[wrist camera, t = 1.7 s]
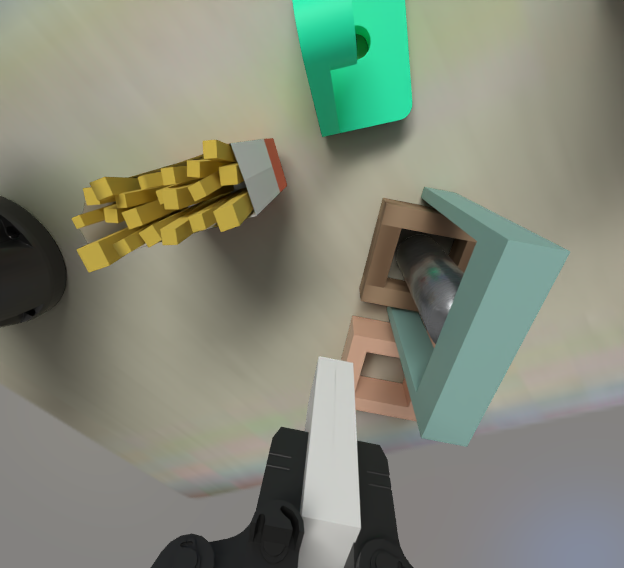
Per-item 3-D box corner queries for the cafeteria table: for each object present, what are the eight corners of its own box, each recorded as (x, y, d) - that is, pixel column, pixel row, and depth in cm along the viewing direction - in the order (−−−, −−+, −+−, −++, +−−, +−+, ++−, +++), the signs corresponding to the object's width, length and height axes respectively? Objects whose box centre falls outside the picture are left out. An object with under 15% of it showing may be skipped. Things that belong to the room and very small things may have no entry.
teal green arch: (386, 309, 37) (421, 438, 21) (424, 186, 32) (508, 239, 16) (413, 314, 37) (466, 446, 21) (455, 192, 32) (570, 251, 16)
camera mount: (407, 118, 30) (438, 111, 20) (323, 136, 31) (316, 137, 22) (393, -56, 25) (425, -169, 16) (295, -27, 26) (271, -116, 17)
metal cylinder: (391, 270, 36) (419, 346, 23) (402, 230, 34) (441, 289, 21) (431, 277, 36) (482, 357, 23) (445, 238, 34) (509, 302, 21)
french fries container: (173, 166, 33) (7, 197, 16) (276, 133, 31) (205, 133, 15) (191, 211, 35) (59, 280, 18) (291, 182, 33) (242, 232, 16)
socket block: (359, 288, 37) (361, 300, 34) (382, 197, 33) (386, 203, 30) (448, 305, 37) (457, 319, 34) (483, 217, 33) (496, 224, 30)
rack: (334, 382, 42) (334, 405, 39) (352, 315, 38) (353, 334, 35) (412, 397, 42) (418, 421, 39) (437, 331, 38) (448, 352, 35)
